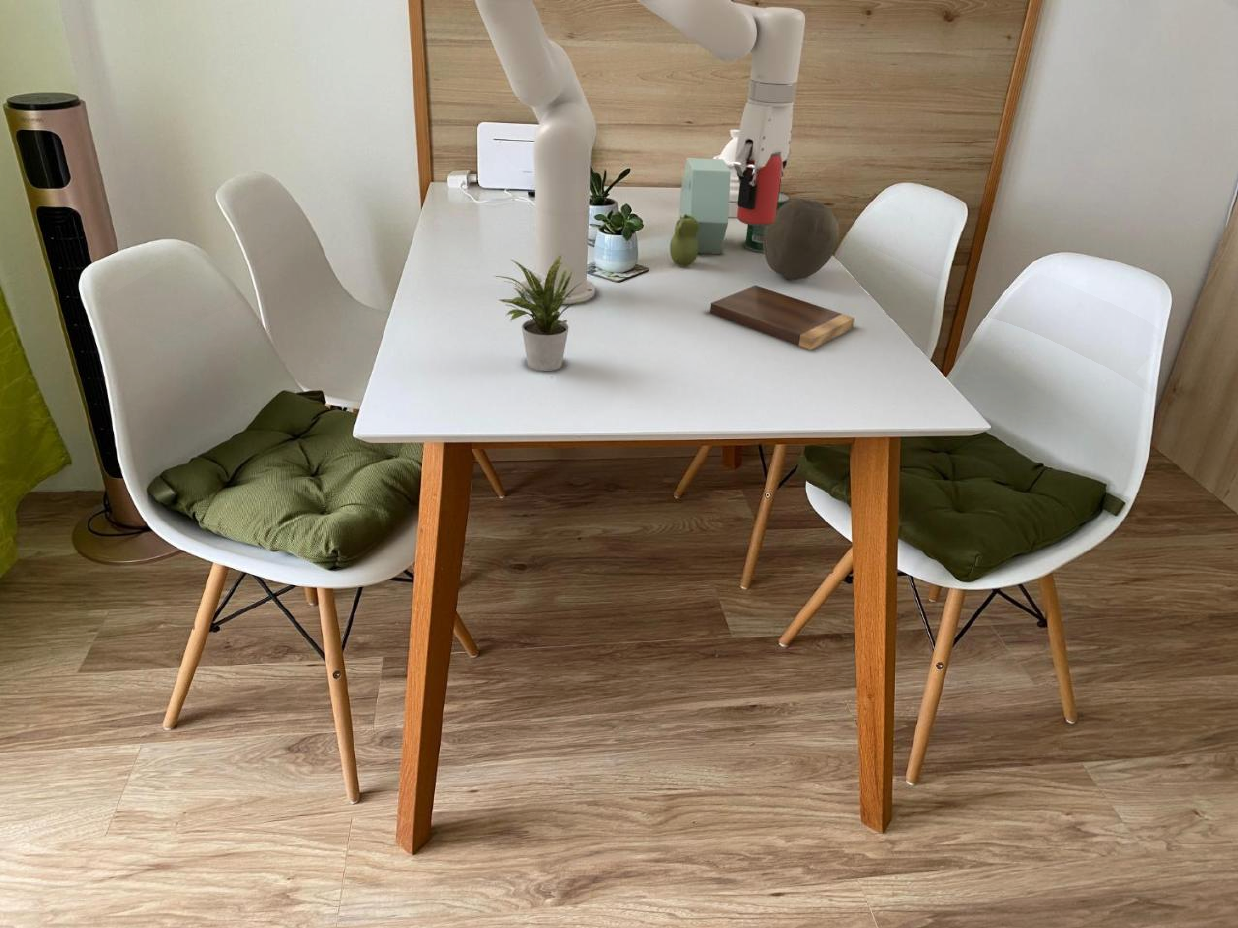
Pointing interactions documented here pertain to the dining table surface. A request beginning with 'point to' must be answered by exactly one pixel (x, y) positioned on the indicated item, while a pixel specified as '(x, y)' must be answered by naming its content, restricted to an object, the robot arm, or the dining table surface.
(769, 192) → the beer can
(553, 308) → the house plant
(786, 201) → the canned tomato
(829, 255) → the brown coconut
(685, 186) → the pale green tall block
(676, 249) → the pear
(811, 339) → the cutting board
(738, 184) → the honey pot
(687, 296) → the dining table surface
